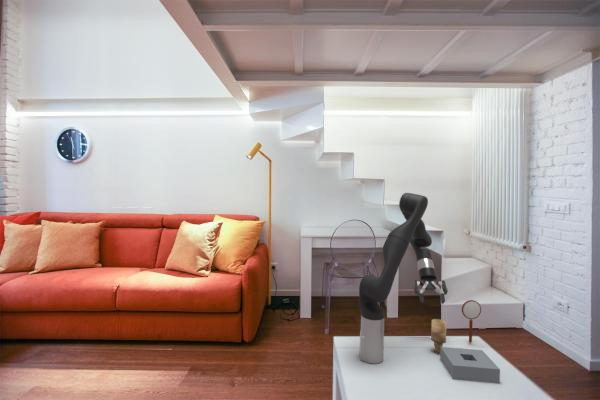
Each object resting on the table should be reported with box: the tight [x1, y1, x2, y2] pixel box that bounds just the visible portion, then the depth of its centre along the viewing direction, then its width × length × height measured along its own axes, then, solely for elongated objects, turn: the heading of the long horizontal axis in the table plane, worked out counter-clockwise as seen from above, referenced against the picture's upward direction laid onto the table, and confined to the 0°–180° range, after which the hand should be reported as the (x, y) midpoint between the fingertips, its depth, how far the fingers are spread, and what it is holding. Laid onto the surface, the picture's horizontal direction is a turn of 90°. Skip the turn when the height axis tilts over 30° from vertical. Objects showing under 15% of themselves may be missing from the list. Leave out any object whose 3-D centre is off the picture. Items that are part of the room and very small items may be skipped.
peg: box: [430, 318, 448, 354], centre depth 133 cm, size 6×6×13 cm
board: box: [439, 346, 501, 384], centre depth 120 cm, size 16×14×5 cm
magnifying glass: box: [461, 299, 482, 345], centre depth 141 cm, size 9×2×20 cm, turn 91°
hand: (433, 302), depth 141 cm, fingers open, 8 cm apart
